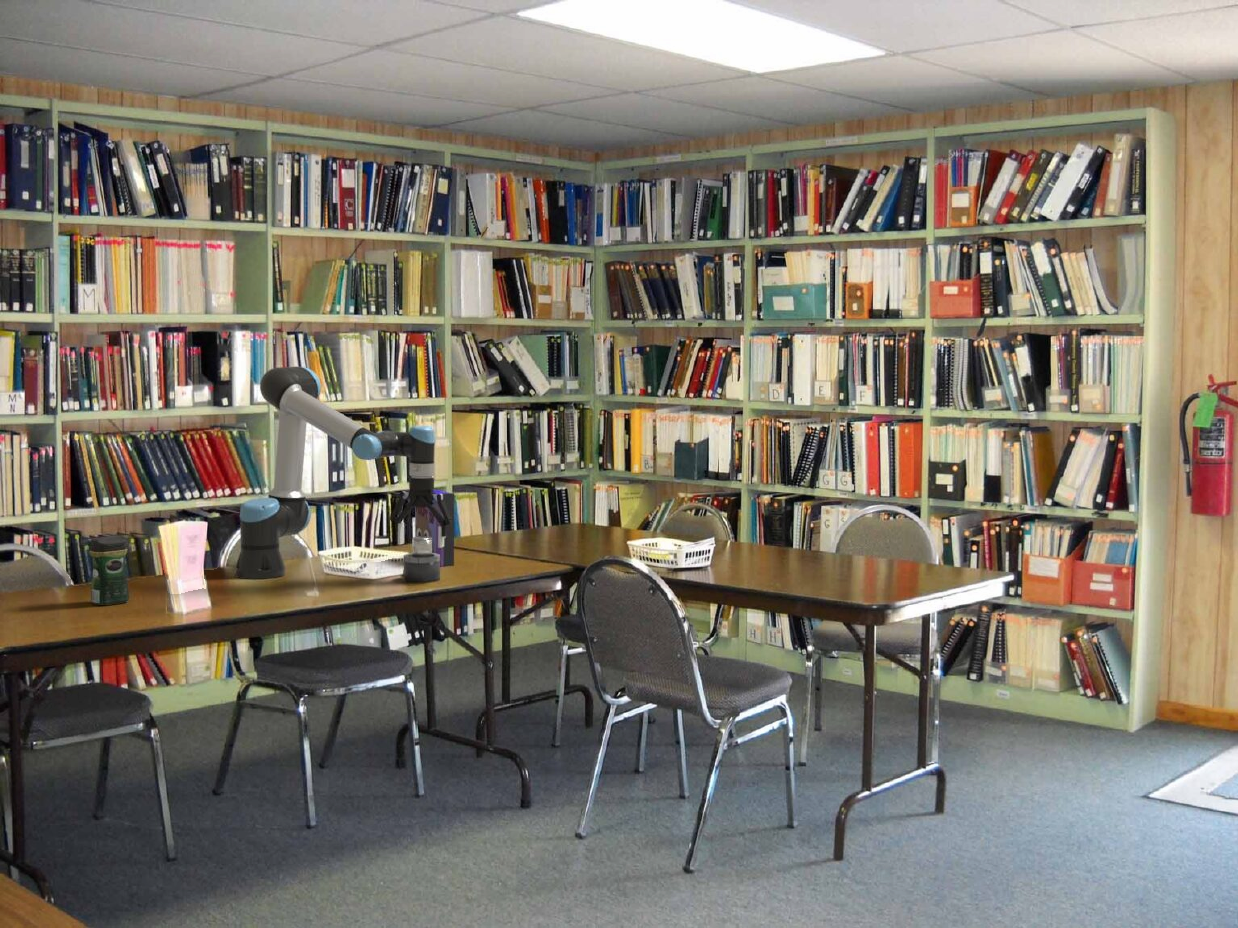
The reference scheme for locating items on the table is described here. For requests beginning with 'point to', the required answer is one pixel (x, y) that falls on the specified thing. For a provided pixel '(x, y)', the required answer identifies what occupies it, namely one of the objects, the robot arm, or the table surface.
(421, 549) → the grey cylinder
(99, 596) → the coffee jar
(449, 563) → the cereal box
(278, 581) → the table surface
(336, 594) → the table surface
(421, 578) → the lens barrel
